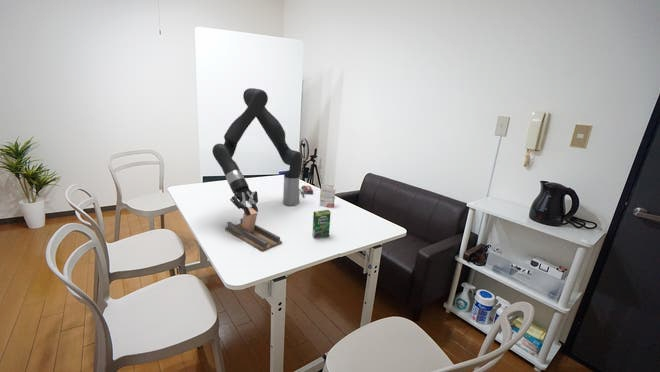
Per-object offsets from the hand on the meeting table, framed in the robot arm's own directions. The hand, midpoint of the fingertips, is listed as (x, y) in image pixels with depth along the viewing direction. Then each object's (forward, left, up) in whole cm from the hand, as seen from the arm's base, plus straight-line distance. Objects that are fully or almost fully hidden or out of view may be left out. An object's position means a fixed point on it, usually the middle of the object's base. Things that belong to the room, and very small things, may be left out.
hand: (252, 213), depth 132 cm
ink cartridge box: (-59, -4, -12) cm, 60 cm away
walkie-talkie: (-67, -29, -12) cm, 74 cm away
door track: (0, 0, -11) cm, 11 cm away
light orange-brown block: (0, -4, -9) cm, 10 cm away
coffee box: (-24, +21, -12) cm, 34 cm away
